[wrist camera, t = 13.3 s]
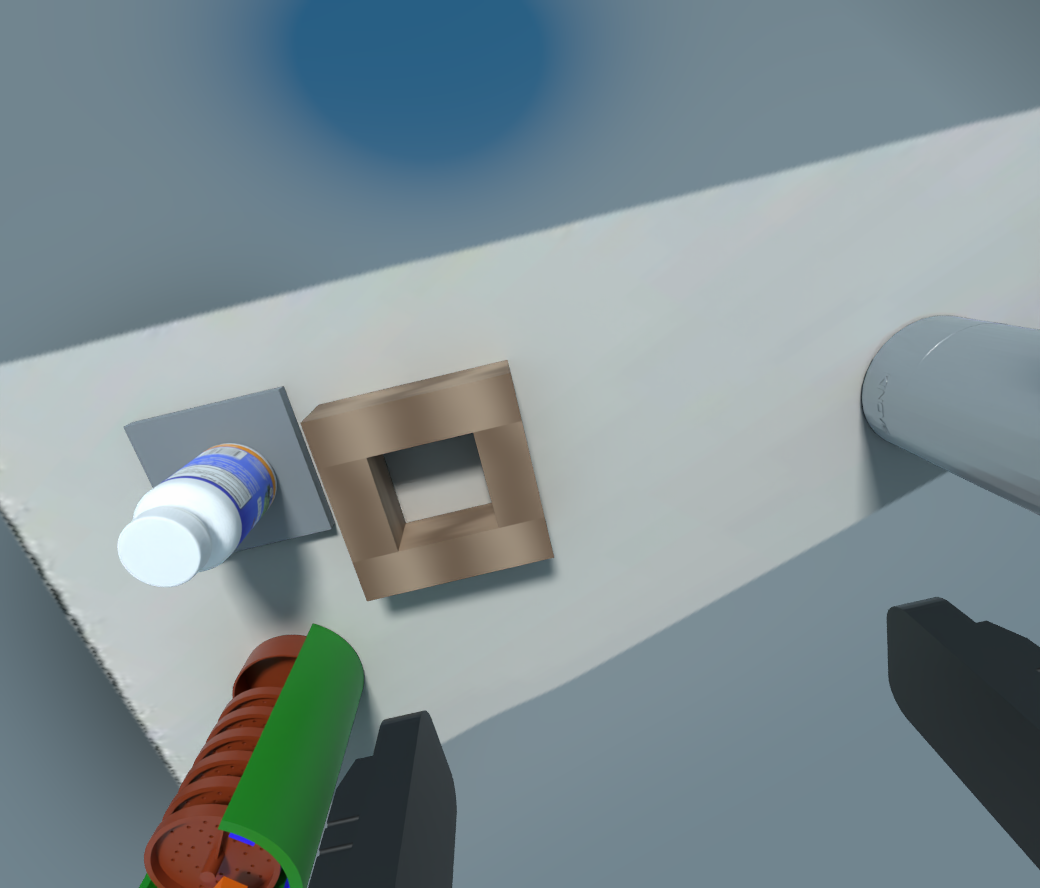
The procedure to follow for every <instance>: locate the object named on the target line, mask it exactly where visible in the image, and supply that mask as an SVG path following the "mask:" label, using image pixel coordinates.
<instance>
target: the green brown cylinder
mask: <svg viewBox="0 0 1040 888" xmlns="http://www.w3.org/2000/svg"><path fill="white" fill-rule="evenodd" d="M363 685H364V673H363V668H362V665H361V662H360V660H359V658H358V656H357V654H356V652H355V651H354V650H353V648H352V647H351V646H350V645H349V644H348V643H347V642H346V641H345V640H344V639H343V638H341V637H340V636H339V635H337V634H336V633H334V632H332V631H331V630H329V629H327V628H324V627H322V626H319V625H316V624H312V626H311V629H310V631H309V633H308V635H307V636H302V635H283V636H278V637H274V638H272V639H269V640H267V641H265V642H263V643H262V644H260V645H259V646H258V647H257V648H255V650H254V651H253V652H252V653H251V654H250V656H249V658H248V659H247V661H246V663H245V665H244V666H243V668H242V670H241V671H240V673H239V675H238V677H237V678H236V680H235V683H234V686H233V699H232V700H231V701H230V702H229V703H228V704H227V706H226V707H225V709H224V711H223V713H222V714H221V716H220V718H219V720H218V723H217V724H216V725H215V727H214V728H213V730H212V732H211V734H210V735H209V737H208V739H207V741H206V744H205V745H204V746H203V748H202V749H201V751H200V753H199V755H198V756H197V758H196V760H195V762H194V764H193V767H192V768H191V770H190V771H189V772H188V774H187V776H186V777H185V779H184V781H183V783H182V784H181V786H180V788H179V791H178V794H177V795H176V796H175V797H174V799H173V800H172V802H171V804H170V805H169V807H168V809H167V811H166V812H165V814H164V817H163V820H162V822H161V823H160V824H159V826H158V827H157V828H156V830H155V832H154V834H153V835H152V837H151V839H150V841H149V842H148V844H147V846H146V849H145V854H144V864H145V868H146V871H147V874H146V876H145V878H144V879H143V881H142V883H141V885H140V887H139V888H307V885H308V881H309V878H310V874H311V870H312V867H313V864H314V860H315V856H316V853H317V849H318V845H319V842H320V839H321V835H322V832H323V828H324V824H325V821H326V818H327V814H328V810H329V807H330V804H331V800H332V796H333V793H334V789H335V786H336V782H337V779H338V775H339V772H340V768H341V765H342V761H343V758H344V754H345V750H346V747H347V743H348V740H349V736H350V733H351V729H352V726H353V722H354V719H355V715H356V712H357V708H358V704H359V701H360V697H361V694H362V690H363Z"/></svg>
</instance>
